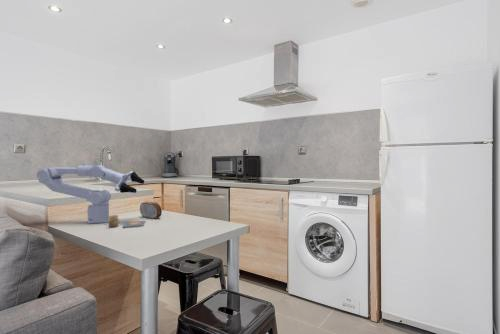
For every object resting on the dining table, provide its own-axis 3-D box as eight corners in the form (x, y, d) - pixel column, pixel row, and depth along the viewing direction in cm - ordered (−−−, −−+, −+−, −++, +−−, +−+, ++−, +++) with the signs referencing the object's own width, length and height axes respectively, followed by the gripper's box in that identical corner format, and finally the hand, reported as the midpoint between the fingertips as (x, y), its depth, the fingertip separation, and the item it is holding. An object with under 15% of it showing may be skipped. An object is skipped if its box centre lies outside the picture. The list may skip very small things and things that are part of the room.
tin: (162, 218, 148) (161, 202, 148) (157, 219, 145) (157, 203, 145) (143, 216, 156) (143, 200, 156) (139, 217, 153) (138, 201, 153)
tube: (108, 228, 129) (107, 217, 129) (109, 226, 133) (109, 215, 133) (117, 227, 130) (117, 216, 130) (118, 225, 134) (118, 215, 134)
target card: (122, 228, 128) (122, 226, 128) (125, 223, 138) (125, 221, 138) (143, 226, 131) (143, 224, 131) (144, 221, 141) (144, 220, 140)
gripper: (106, 179, 135) (132, 189, 135) (123, 163, 147) (147, 172, 147) (106, 190, 139) (132, 199, 139) (122, 173, 151) (146, 182, 151)
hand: (140, 186), depth 143 cm, fingers open, 7 cm apart
